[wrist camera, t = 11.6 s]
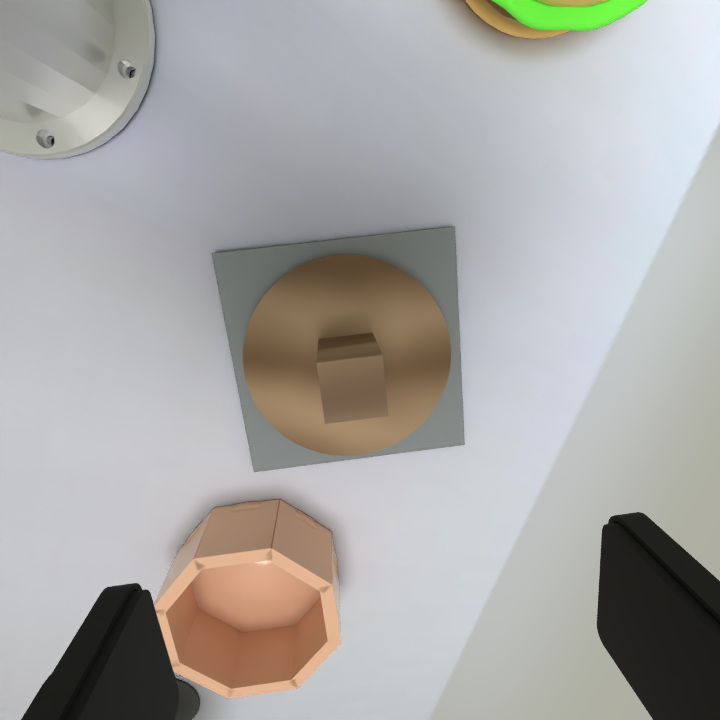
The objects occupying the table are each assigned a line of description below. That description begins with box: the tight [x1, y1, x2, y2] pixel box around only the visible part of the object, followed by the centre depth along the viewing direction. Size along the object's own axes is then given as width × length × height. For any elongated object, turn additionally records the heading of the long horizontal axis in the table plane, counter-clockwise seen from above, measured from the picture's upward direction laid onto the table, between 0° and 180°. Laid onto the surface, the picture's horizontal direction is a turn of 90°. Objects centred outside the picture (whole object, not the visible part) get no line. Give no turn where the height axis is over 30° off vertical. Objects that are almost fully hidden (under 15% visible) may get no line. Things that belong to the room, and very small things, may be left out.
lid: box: [243, 254, 451, 456], centre depth 25 cm, size 12×12×6 cm
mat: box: [212, 227, 465, 472], centre depth 28 cm, size 14×14×1 cm
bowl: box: [154, 499, 341, 699], centre depth 30 cm, size 11×11×5 cm
